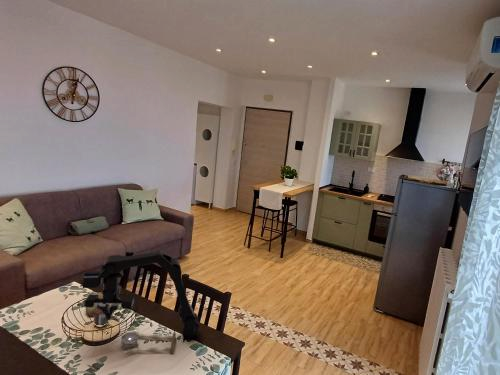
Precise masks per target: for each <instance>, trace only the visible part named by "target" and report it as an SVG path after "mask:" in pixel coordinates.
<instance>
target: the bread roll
mask: <svg viewBox="0 0 500 375" xmlns="http://www.w3.org/2000/svg"><path fill="white" fill-rule="evenodd" d="M94 295H99V298H103V294H102V292H101V291H100V292H97V293H94ZM96 306H97V303H94V306H93V307H85V313H86V314H87V315H88V316H89V317H95V307H96Z"/></svg>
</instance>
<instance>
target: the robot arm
mask: <svg viewBox="0 0 500 375" xmlns="http://www.w3.org/2000/svg"><path fill="white" fill-rule="evenodd" d="M152 264H157V265H159V266H160V267H161V268H162V269H163V270H164V271H166V272H167V274H168V276H169V277H170V279H171V280H172V282H173V284H174V287H175V291H176V294H177V298H178V301H179V304H180V306H179V307H177V310H178V316H179V317H180V322H181V323H183V327H182V340H184V341H185V340H186V341H198V337H199V336H198V334H199V328H200V326H201V324H200V321H199V317H198V315H197V313H196V312H194V309H193V307H192V305H191V303H190V301H189V299H188V296H187V292H186V290H185V286H184V283H183V279H182V278H183V277H182V276H183V275H182V267H181V264H180V260H179V259H178V258H176V257H172V256H170V255H169V254H166V253H164V252H162V251H161V250H156V251H153V252H147V253H146V252H145V253H140V254H134V255H133V254H132V255H129V256H128V255H126V256H124V255H120V254H119V255H118V254H117V255H116V254H113V255H109V256H107V257H106V258H105V260H104V263H103V264H102V266H100V268H99V270H91V271H90V270H85V271H84V274H83V281H82V288H83V289H94V288H95V289H97V288H100V286H102V294H103V298H99V295H94V294H95V293H94V294H91V293H90V294H89V295H88V296H87V297H86V299H85V300H84V302H83V307H84V308H86V307H93V306H94V303H99V304H100V307H99V309H100V310H102V312H103V313H104V314H105V316H106V318H107V320H108V321H110V320H111V319H112V316H113V313H114V312H115V311H117V310H118V308H120V307H119V306H121V308H122V310H131V309H132V308H133V305H134V303H135V297H134V296H133V295H132V296H131V295H130V296H128V295H125V296H124V297H123V299H122V298H120V297H119V296H120V294H121V290H122V286H121V285H119V279H120V278H122V279H123V277H124V272H123V271H125V270H126V269H128V268H135V267H139V266H145V265H152ZM102 282H103V285H102Z"/></svg>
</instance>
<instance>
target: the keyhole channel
mask: <svg viewBox="0 0 500 375" xmlns="http://www.w3.org/2000/svg"><path fill="white" fill-rule="evenodd" d="M131 332H134V333H137V334H138V340H139V339H140V340H150V341H161V342H171V343H170V347H133V348H131V349H126V350H125V351H123V352H124V353H123V355H124V357H129V356H132V355H137V354H170V355H173V354H174V351H175V350H174V349H175V343H176V335H177V333H176V332H173V333H172V335H162V334H149V333H140V332H137V331H136V330H132V331H131Z"/></svg>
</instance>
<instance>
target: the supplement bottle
mask: <svg viewBox="0 0 500 375" xmlns="http://www.w3.org/2000/svg"><path fill="white" fill-rule="evenodd" d="M99 307H100V304H99V303H97V306H96V307H95V316H94V320H93V323H95V324H96V325H104V324H106V323H108V324H109V320H107V318H106V316H105V314H104V313H103V312H102V310H100V309H99Z"/></svg>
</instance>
